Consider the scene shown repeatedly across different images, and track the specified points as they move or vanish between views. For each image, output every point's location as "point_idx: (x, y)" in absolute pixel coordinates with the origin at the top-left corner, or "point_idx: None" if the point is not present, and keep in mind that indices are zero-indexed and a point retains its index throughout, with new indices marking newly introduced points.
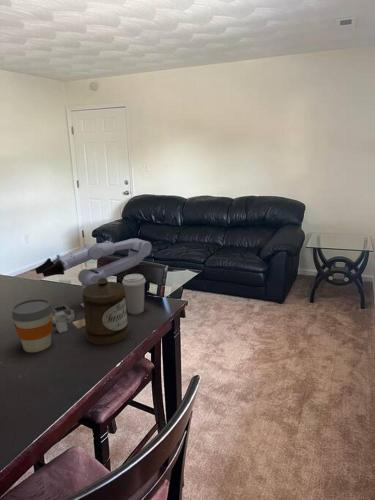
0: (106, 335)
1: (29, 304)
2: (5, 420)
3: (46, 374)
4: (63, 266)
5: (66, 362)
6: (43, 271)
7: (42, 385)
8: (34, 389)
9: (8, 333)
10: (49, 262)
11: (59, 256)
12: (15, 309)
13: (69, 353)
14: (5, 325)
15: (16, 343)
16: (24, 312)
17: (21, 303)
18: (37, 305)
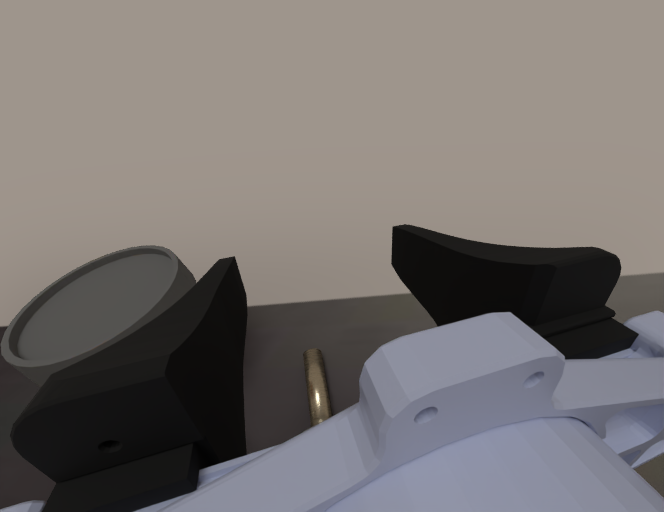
0: None
1: (148, 290)
2: (2, 327)
3: (29, 399)
4: (49, 509)
5: (7, 466)
6: (217, 261)
7: (4, 387)
8: (14, 370)
9: (320, 308)
10: (500, 293)
11: (369, 407)
12: (152, 256)
13: (38, 488)
14: (378, 297)
15: (247, 328)
16: (93, 280)
17: (174, 264)
18: (102, 317)
